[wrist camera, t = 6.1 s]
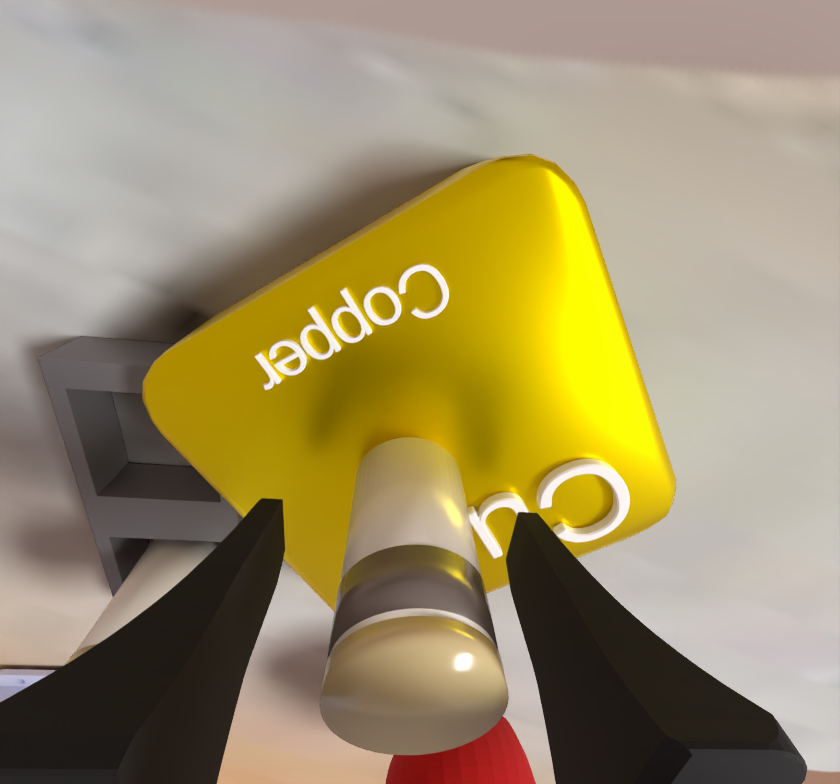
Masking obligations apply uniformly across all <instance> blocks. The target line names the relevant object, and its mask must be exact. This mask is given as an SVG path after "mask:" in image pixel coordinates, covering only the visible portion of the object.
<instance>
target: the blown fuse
mask: <svg viewBox="0 0 840 784" xmlns="http://www.w3.org/2000/svg"><path fill="white" fill-rule="evenodd" d="M507 704H508V689H507V684H506V679H505V675H504V670H503V665H502V661H501V657H500V654H499V651H498V646H497V642H496V637H495V632H494V627H493V623H492V618H491V613H490V608H489V604H488V599H487V594H486V589H485V585H484V582H483V579H482V576H481V571H480V567H479V562H478V557H477V552H476V547H475V543H474V538H473V533H472V528H471V523H470V518H469V514H468V509H467V504H466V499H465V494H464V490H463V485H462V480H461V475H460V471H459V467H458V465H457V463H456V461H455V459H454V458H453V456H452V455H451V454H450V453H449V452H448V451H447V450H446V449H444V448H443V447H441V446H440V445H438V444H436V443H434V442H432V441H429V440H426V439H421V438H413V437H404V438H397V439H393V440H389V441H387V442H384V443H382V444H380V445H378V446H376V447H375V448H373V449H372V450H371V451H370V452H369V453H367V455H366V456H365V457H364V458H363V460H362V461H361V463H360V465H359V467H358V469H357V473H356V479H355V486H354V493H353V499H352V506H351V513H350V520H349V526H348V533H347V540H346V547H345V553H344V560H343V567H342V574H341V581H340V585H339V588H338V592H337V599H336V606H335V612H334V619H333V625H332V632H331V639H330V645H329V652H328V659H327V663H326V666H325V672H324V678H323V685H322V691H321V698H320V711H321V715H322V718H323V720H324V722H325V723H326V725H327V726H328V727H329V728H330V730H331V731H332V732H333V733H335V734H336V735H337V736H338V737H340V738H341V739H343V740H345V741H346V742H348V743H350V744H352V745H354V746H357V747H360V748H363V749H365V750H369V751H373V752H378V753H384V754H392V755H422V754H431V753H436V752H442V751H446V750H450V749H453V748H456V747H459V746H462V745H464V744H467V743H469V742H471V741H473V740H475V739H477V738H479V737H481V736H482V735H484V734H485V733H486V732H488V731H489V730H490V729H491V728H493V727H494V726H495V725H496V724H497V723H498V721H499V720H500V719H501V717H502V716H503V714H504V713H505V710H506V708H507Z"/></svg>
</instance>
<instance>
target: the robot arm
mask: <svg viewBox="0 0 840 784" xmlns="http://www.w3.org/2000/svg"><path fill="white" fill-rule="evenodd" d="M284 553H285V535H284V515H283V499H268V498H261V499H260V500H259V501H258V502H257V503H256V504H255V505H254V507H253V508H252V509H251V510H250V511H249V512H248V513H247V515H246V516H245V517H244V518H243V519H242V520H241V521H240V522H239V524H238V525H237V526H236V527H235V528H234V529H233V530H232V531H231V532H230V533H229V534H228V535H227V536H226V537H225V539H224V540H223V541H222V542H221V543H220V544H219V545H218V546H217V547H216V548H215V549H214V550H213V551H212V552H211V553H210V554H209V555H208V556H207V557H206V558H205V559H204V560H203V561H202V562H200V563H199V564H198V565H197V566H196V567H195V568H194V569H193V570H192V571H191V572H190V573H189V574H188V575H187V576H186V577H184V578H183V579H182V580H181V581H180V582H179V583H178V584H176V585H175V586H174V587H173V588H172V589H171V590H169V591H168V592H167V593H166V594H165V595H163V596H162V597H161V598H160V599H158V600H157V601H156V602H155V603H154V604H152V605H151V606H150V607H148V608H147V609H146V610H144V611H143V612H142V613H140V614H139V615H138V616H136V617H135V618H134V619H133V620H131V621H130V622H129V623H127V624H126V625H124V626H123V627H122V628H120V629H119V630H118V631H116V632H115V633H113V634H112V635H110V636H109V637H107V638H106V639H104V640H103V641H101V642H100V643H98V644H97V645H95V646H94V647H92V648H91V649H89V650H88V651H86V652H85V653H83V654H82V655H80V656H79V657H77V658H75V659H74V660H72V661H71V662H69V663H68V664H66V665H64V666H63V667H61V668H59V669H58V670H30V669H1V670H0V784H217V780H218V775H219V771H220V767H221V763H222V759H223V755H224V751H225V747H226V743H227V739H228V735H229V731H230V727H231V723H232V720H233V716H234V712H235V708H236V704H237V701H238V697H239V693H240V689H241V686H242V682H243V678H244V675H245V672H246V669H247V666H248V663H249V659H250V657H251V654H252V651H253V649H254V646H255V643H256V640H257V638H258V635H259V632H260V629H261V627H262V624H263V621H264V618H265V616H266V613H267V610H268V607H269V605H270V602H271V599H272V596H273V593H274V591H275V588H276V585H277V582H278V578H279V574H280V570H281V566H282V561H283V557H284ZM506 565H507V571H508V578H509V583H510V589H511V593H512V597H513V600H514V604H515V607H516V611H517V614H518V618H519V621H520V624H521V628H522V631H523V634H524V638H525V641H526V644H527V648H528V651H529V654H530V658H531V661H532V665H533V668H534V672H535V676H536V680H537V684H538V689H539V694H540V699H541V704H542V709H543V714H544V719H545V724H546V730H547V735H548V740H549V746H550V751H551V757H552V763H553V769H554V775H555V781H556V784H802V783H803V781H804V780H805V776H806V772H807V766H806V763H805V761H804V759H803V758H802V756H801V755H800V753H799V752H798V750H797V749H796V748H795V746H794V745H793V743H792V742H791V740H790V739H789V737H788V736H787V735H786V733H785V732H784V730H783V729H782V727H781V726H780V725H779V723H778V722H777V720H776V719H775V718H774V716H773V715H772V714H771V713H769V712H767V711H766V710H764V709H763V708H761V707H759V706H758V705H756V704H755V703H753V702H751V701H750V700H748V699H746V698H745V697H743V696H742V695H740V694H738V693H737V692H735V691H734V690H732V689H730V688H729V687H727V686H726V685H724V684H723V683H721V682H720V681H718V680H717V679H715V678H714V677H712V676H711V675H710V674H708V673H707V672H705V671H704V670H702V669H701V668H699V667H698V666H697V665H695V664H694V663H692V662H691V661H690V660H688V659H687V658H686V657H684V656H683V655H682V654H680V653H679V652H677V651H676V650H675V649H674V648H672V647H671V646H670V645H669V644H667V643H666V642H665V641H663V640H662V639H661V638H660V637H658V636H657V635H656V634H655V633H653V632H652V631H651V630H650V629H648V628H647V627H646V626H645V625H644V624H643V623H641V622H640V621H639V620H638V619H637V618H636V617H635V616H633V615H632V614H631V613H630V612H629V611H628V610H627V609H626V608H624V607H623V606H622V605H621V604H620V603H619V602H618V601H617V600H616V599H615V598H614V597H613V596H612V595H611V594H610V593H609V592H608V591H607V590H606V589H605V588H604V587H603V586H602V585H601V584H600V583H599V582H598V581H597V580H596V579H595V578H594V577H593V576H592V575H591V574H590V573H589V572H588V571H587V570H586V569H585V568H584V566H583V565H582V564H581V563H580V562H579V561H578V560H577V559H576V558H575V557H574V555H573V554H572V553H571V552H570V551H569V550H568V549H567V547H566V546H565V545H564V544H563V543H562V542H561V540H560V539H559V538H558V537H557V536H556V534H555V533H554V532H553V531H552V530H551V528H550V527H549V526H548V525H547V524H546V522H545V521H544V520H543V519H542V518H541V517H540V515H539V514H538V513H530V512H518V515H517V519H516V522H515V526H514V530H513V533H512V537H511V541H510V545H509V548H508V552H507V556H506Z"/></svg>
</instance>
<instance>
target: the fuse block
mask: <svg viewBox="0 0 840 784" xmlns="http://www.w3.org/2000/svg"><path fill="white" fill-rule="evenodd" d="M173 345H175V344H172V343H160V342H147V341H135V340H123V339H110V338H98V337H85V336H81V337H79V338H77V339H75V340H73V341H71V342H69V343H67V344H64V345H62V346H60V347H58V348H56V349H54V350H52V351H50V352H48V353H46V354H44V355H42V356H40V357H38V361H39V364H40V367H41V370H42V373H43V376H44V380H45V383H46V386H47V389H48V392H49V395H50V399H51V402H52V405H53V408H54V411H55V415H56V418H57V421H58V424H59V427H60V430H61V434H62V437H63V440H64V443H65V446H66V449H67V453H68V456H69V459H70V462H71V465H72V468H73V472H74V475H75V478H76V481H77V484H78V487H79V491H80V494H81V497H82V500H83V503H84V506H85V510H86V513H87V516H88V519H89V522H90V525H91V529H92V532H93V535H94V538H95V541H96V544H97V548H98V551H99V554H100V557H101V560H102V563H103V567H104V570H105V573H106V576H107V579H108V582H109V586H110V589H111V592H112V595H113V597H114V595H115V594H116V593H117V591H118V590H119V588H120V587H121V585H122V584H123V582H124V581H125V579H126V578H127V577H128V575H129V574H130V572H131V571H132V569H133V568H134V566H135V565H136V563H137V562H138V561H139V559H140V558H141V556H142V555H143V553H144V552H145V550H146V549H147V548H148V542H147V539H165V540H187V541H209V542H222V541H223V540H224V539H225V537H226V536H227V535H228V534H229V533H230V532H231V531H232V530H233V529H234V528H235V527H236V526H237V525H238V524H239V522H240V521H241V520H242V519H243V517H242V516H241V515H240V514H239V513H238V512H237V511H236V510H235V509H234V508H233V507H232V506H231V505H230V504H229V503H228V502H227V501H226V500H225V499H224V498H223V497H222V496H221V495H220V494H219V493H218V492H217V491H216V490H215V489H214V488H213V487H212V486H211V485H210V484H209V483H208V482H207V480H206V479H205V478H204V477H203V476H202V475H201V474H200V473H199V472H198V471H197V470H196V469H195V468H194V467H185V466H168V465H151V464H134V463H128V459H127V455H126V451H125V447H124V443H123V439H122V434H121V430H120V426H119V422H118V418H117V414H116V410H115V406H114V402H113V397H112V393H111V392H124V393H138V394H143V380H144V378H145V377H146V375H147V373H148V371H149V370H150V368H151V366H152V364H153V363H154V361H155V360H156V359H157V358H159V357H160V356H161V355H162V354H163V353H164V352H165V351H166V350H168V349H169V348H170V347H172V346H173Z"/></svg>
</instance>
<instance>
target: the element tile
mask: <svg viewBox="0 0 840 784" xmlns="http://www.w3.org/2000/svg"><path fill="white" fill-rule="evenodd" d="M142 400H143V403H144V405H145V407H146V410H147V412H148V414H149V416H150V419H151V421H152V422H153V423H154V425H155V426H156V428H157V429H158V430H159V432H160V433H161V434H162V435H163V436H164V437H165V438H166V439H167V440H168V442H169V443H170V444H171V445H172V446H173V447H174V448H175V449H176V450H177V451H178V452H179V453H180V454H181V455H182V456H183V457H184V458H185V459H186V460H187V461H188V462H189V463H190V464H191V465H192V466H193V467H194V468H195V469H196V470H197V471H198V472H199V473H200V474H201V475H202V476H203V477H204V478H205V479H206V480H207V482H208V483H209V484H210V485H211V486H212V487H213V488H214V489H215V490H216V491H217V492H218V493H219V494H220V495H221V496H222V497H223V498H224V499H225V500H226V501H227V502H228V503H229V504H230V505H231V506H232V507H233V508H234V509H235V510H236V511H237V512H238V513H239V514H240V515H241V516H242V517H243V518H244V517H245V516H246V515H247V513H248V512H249V511H250V510H251V509H252V508H253V507H254V505H255V504H256V503H257V502H258V501H259V500H260V499H261V498H268V499H283V515H284V535H285V553H284V557H283V559H284V561H285V562H286V563H287V564H288V565H289V566H290V567H291V568H292V569H293V570H294V571H295V572H296V573H297V574H298V575H299V576H300V577H301V578H302V579H303V580H304V581H305V582H306V583H307V584H308V585H309V586H310V587H311V588H312V589H313V590H314V591H315V592H316V593H317V594H318V595H319V596H320V597H321V598H322V599H323V601H324V602H325V603H326V604H327V605H328V606H329V607H330V608H331V609H332V610H333V611H334V612H335V606H336V599H337V592H338V588H339V585H340V581H341V574H342V567H343V560H344V553H345V547H346V540H347V533H348V526H349V520H350V513H351V506H352V499H353V493H354V486H355V479H356V473H357V469H358V467H359V465H360V463H361V461H362V460H363V458H364V457H365V456H366V455H367V453H369V452H370V451H371V450H372V449H373V448H375V447H376V446H378V445H380V444H382V443H384V442H387V441H389V440H393V439H397V438H404V437H413V438H421V439H426V440H429V441H432V442H434V443H436V444H438V445H440V446H441V447H443V448H444V449H446V450H447V451H448V452H449V453H450V454H451V455H452V456H453V458H454V459H455V461H456V463H457V465H458V467H459V471H460V475H461V480H462V485H463V490H464V494H465V499H466V504H467V509H468V514H469V518H470V523H471V528H472V533H473V538H474V543H475V547H476V552H477V557H478V562H479V567H480V571H481V576H482V579H483V582H484V585H485V589H486V593H488V592H491V591H494V590H496V589H499V588H501V587H504V586H506V585H509V584H510V583H509V578H508V571H507V565H506V556H507V552H508V548H509V545H510V541H511V537H512V533H513V530H514V526H515V522H516V519H517V515H518V512H530V513H538V514H539V515H540V517H541V518H542V519H543V520H544V521H545V522H546V524H547V525H548V526H549V527H550V528H551V530H552V531H553V532H554V533H555V534H556V536H557V537H558V538H559V539H560V540H561V542H562V543H563V544H564V545H565V546H566V547H567V549H568V550H569V551H570V552H571V553H572V554H573V555H574V557H575V558H578V557H581V556H583V555H586V554H589V553H591V552H594V551H596V550H599V549H601V548H604V547H607V546H609V545H612V544H614V543H617V542H619V541H622V540H625V539H627V538H630V537H632V536H634V535H636V534H638V533H640V532H642V531H644V530H646V529H648V528H650V527H651V526H653V525H654V524H656V523H657V522H659V521H660V520H661V519H663V518H664V517H665V516H666V515H667V514H668V512H669V510H670V507H671V506H672V504H673V500H674V496H675V491H676V478H675V475H674V472H673V469H672V466H671V463H670V460H669V457H668V454H667V451H666V448H665V445H664V442H663V439H662V436H661V432H660V429H659V426H658V423H657V420H656V417H655V414H654V411H653V408H652V405H651V402H650V399H649V396H648V393H647V390H646V386H645V383H644V380H643V377H642V374H641V371H640V368H639V365H638V362H637V359H636V356H635V353H634V350H633V347H632V344H631V340H630V337H629V334H628V331H627V328H626V325H625V322H624V319H623V316H622V313H621V310H620V307H619V304H618V301H617V298H616V295H615V291H614V288H613V285H612V282H611V279H610V276H609V273H608V270H607V267H606V264H605V261H604V258H603V255H602V252H601V249H600V245H599V242H598V239H597V236H596V233H595V230H594V227H593V224H592V221H591V218H590V215H589V212H588V209H587V206H586V203H585V201H584V199H583V197H582V195H581V193H580V191H579V190H578V188H577V186H576V184H575V182H574V181H573V180H572V179H571V178H570V177H569V176H568V175H567V174H566V173H565V172H564V171H563V170H562V169H561V168H560V167H559V166H558V165H557V164H556V163H555V162H552V161H549V160H547V159H544V158H541V157H538V156H536V155H533V154H524V155H514V156H504V157H499V158H494V159H490V160H486V161H481V162H478V163H476V164H473V165H471V166H468V167H466V168H463V169H461V170H459V171H458V172H456V173H454V174H453V175H451V176H449V177H448V178H446V179H444V180H443V181H441V182H439V183H437V184H436V185H434V186H432V187H431V188H429V189H427V190H426V191H424V192H422V193H421V194H419V195H417V196H416V197H414V198H412V199H411V200H409V201H407V202H405V203H404V204H402V205H400V206H399V207H397V208H395V209H394V210H392V211H390V212H389V213H387V214H385V215H384V216H382V217H380V218H379V219H377V220H375V221H373V222H372V223H370V224H368V225H367V226H365V227H363V228H362V229H360V230H358V231H357V232H355V233H353V234H352V235H350V236H348V237H347V238H345V239H343V240H341V241H340V242H338V243H336V244H335V245H333V246H331V247H330V248H328V249H326V250H325V251H323V252H321V253H320V254H318V255H316V256H315V257H313V258H311V259H309V260H308V261H306V262H304V263H303V264H301V265H299V266H298V267H296V268H294V269H293V270H291V271H289V272H288V273H286V274H284V275H283V276H281V277H279V278H277V279H276V280H274V281H272V282H271V283H269V284H267V285H266V286H264V287H262V288H261V289H259V290H257V291H256V292H254V293H252V294H250V295H249V296H247V297H245V298H244V299H242V300H240V301H239V302H237V303H235V304H234V305H232V306H230V307H229V308H227V309H225V310H224V311H222V312H220V313H218V314H217V315H215V316H213V317H212V318H210V319H209V320H208V321H206V322H205V323H203V324H202V325H201V326H199V327H198V328H197V329H195V330H194V331H192V332H191V333H190V334H188V335H187V336H186V337H184V338H183V339H181V340H180V341H179V342H177V343H176V344H175V345H173V346H172V347H170V348H169V349H168V350H166V351H165V352H164V353H163V354H162V355H161V356H160V357H159V358H157V359H156V360H155V361H154V363H153V364H152V366H151V368H150V370H149V371H148V373H147V375H146V377H145V378H144V380H143V399H142Z"/></svg>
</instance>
